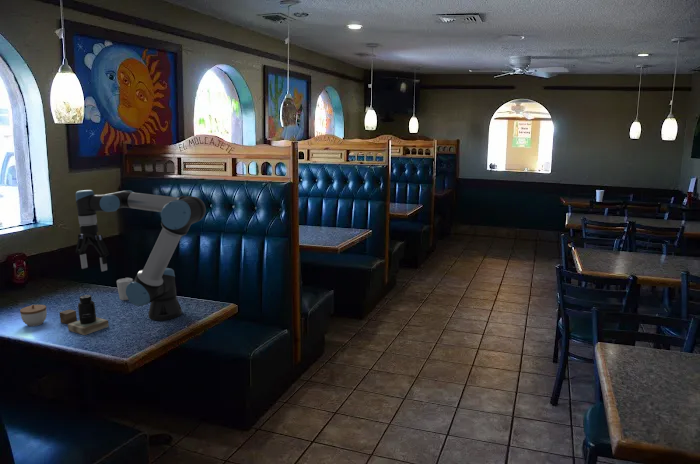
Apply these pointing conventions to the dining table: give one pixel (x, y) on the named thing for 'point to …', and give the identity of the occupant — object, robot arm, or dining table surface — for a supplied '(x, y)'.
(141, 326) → the dining table surface
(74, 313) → the walnut cube
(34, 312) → the lidded jar
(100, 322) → the plinth
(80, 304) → the supplement bottle
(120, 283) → the white cup
